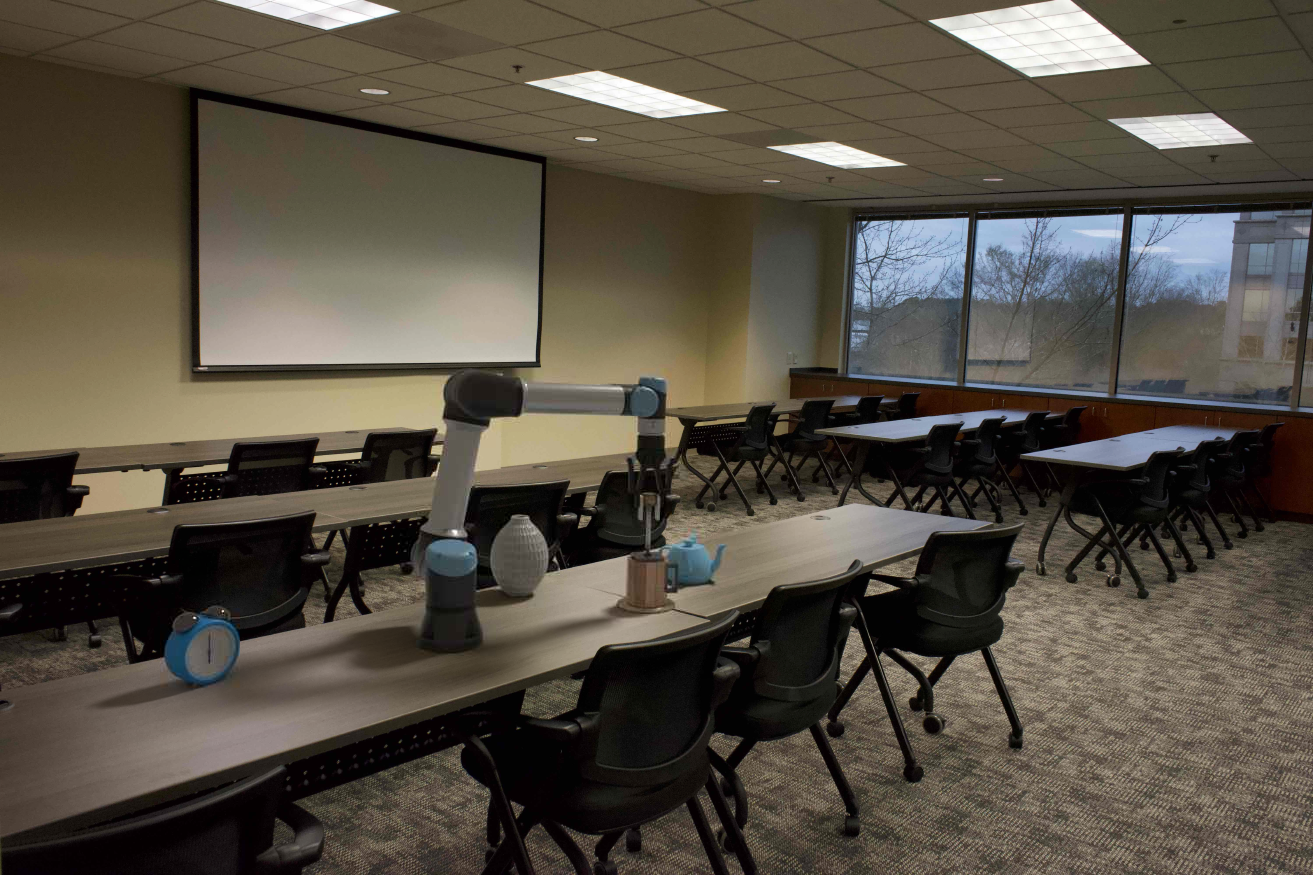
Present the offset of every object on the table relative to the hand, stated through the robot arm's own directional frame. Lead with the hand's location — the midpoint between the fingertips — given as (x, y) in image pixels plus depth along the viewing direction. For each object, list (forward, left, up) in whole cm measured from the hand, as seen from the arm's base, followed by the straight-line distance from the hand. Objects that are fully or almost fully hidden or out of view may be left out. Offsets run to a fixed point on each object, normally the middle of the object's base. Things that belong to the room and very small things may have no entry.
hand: (648, 519), depth 253 cm
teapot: (+19, +27, -24) cm, 41 cm away
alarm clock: (-101, -47, -24) cm, 114 cm away
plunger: (0, 0, -13) cm, 13 cm away
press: (0, 0, -24) cm, 24 cm away
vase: (-34, +15, -24) cm, 44 cm away
